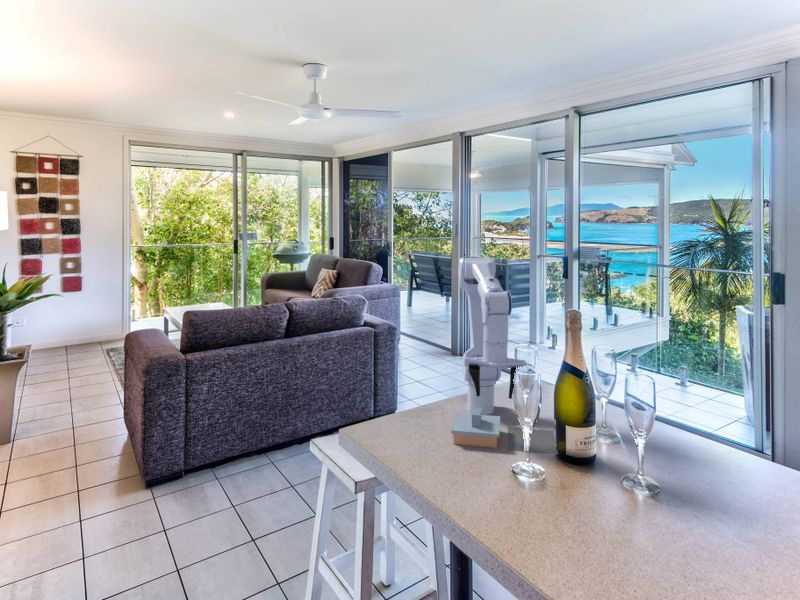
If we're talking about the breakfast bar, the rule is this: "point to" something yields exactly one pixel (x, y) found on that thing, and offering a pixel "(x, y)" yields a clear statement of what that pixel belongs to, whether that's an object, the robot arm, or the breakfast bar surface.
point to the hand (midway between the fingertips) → (494, 396)
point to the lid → (476, 424)
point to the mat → (532, 441)
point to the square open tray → (475, 440)
